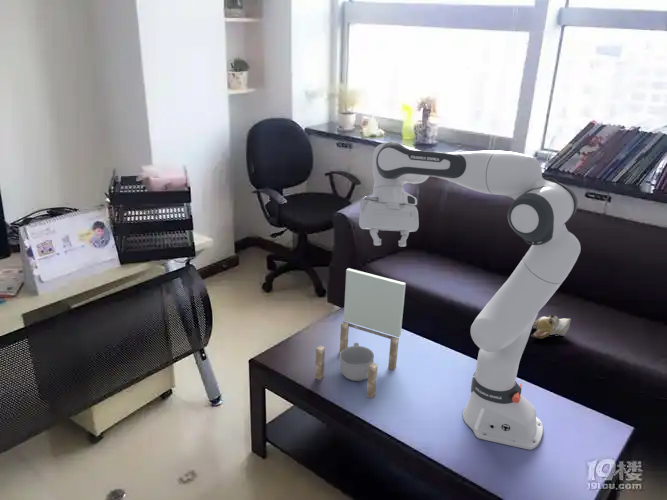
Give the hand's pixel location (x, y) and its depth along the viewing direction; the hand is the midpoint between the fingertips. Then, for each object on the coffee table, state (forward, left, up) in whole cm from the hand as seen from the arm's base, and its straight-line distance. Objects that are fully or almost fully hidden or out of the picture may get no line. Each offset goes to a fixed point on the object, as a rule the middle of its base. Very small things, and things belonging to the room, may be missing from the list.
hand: (390, 245), depth 167 cm
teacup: (+7, +2, -46) cm, 47 cm away
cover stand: (+7, +2, -46) cm, 47 cm away
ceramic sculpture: (-43, -56, -46) cm, 84 cm away
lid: (+7, -8, -25) cm, 27 cm away
